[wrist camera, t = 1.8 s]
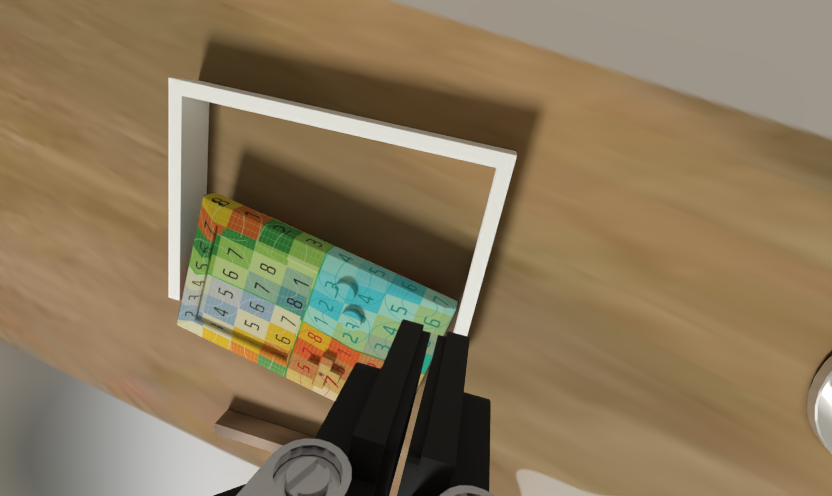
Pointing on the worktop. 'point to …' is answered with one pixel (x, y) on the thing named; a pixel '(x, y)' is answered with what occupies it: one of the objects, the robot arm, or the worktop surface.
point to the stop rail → (255, 431)
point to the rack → (193, 126)
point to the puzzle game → (298, 298)
